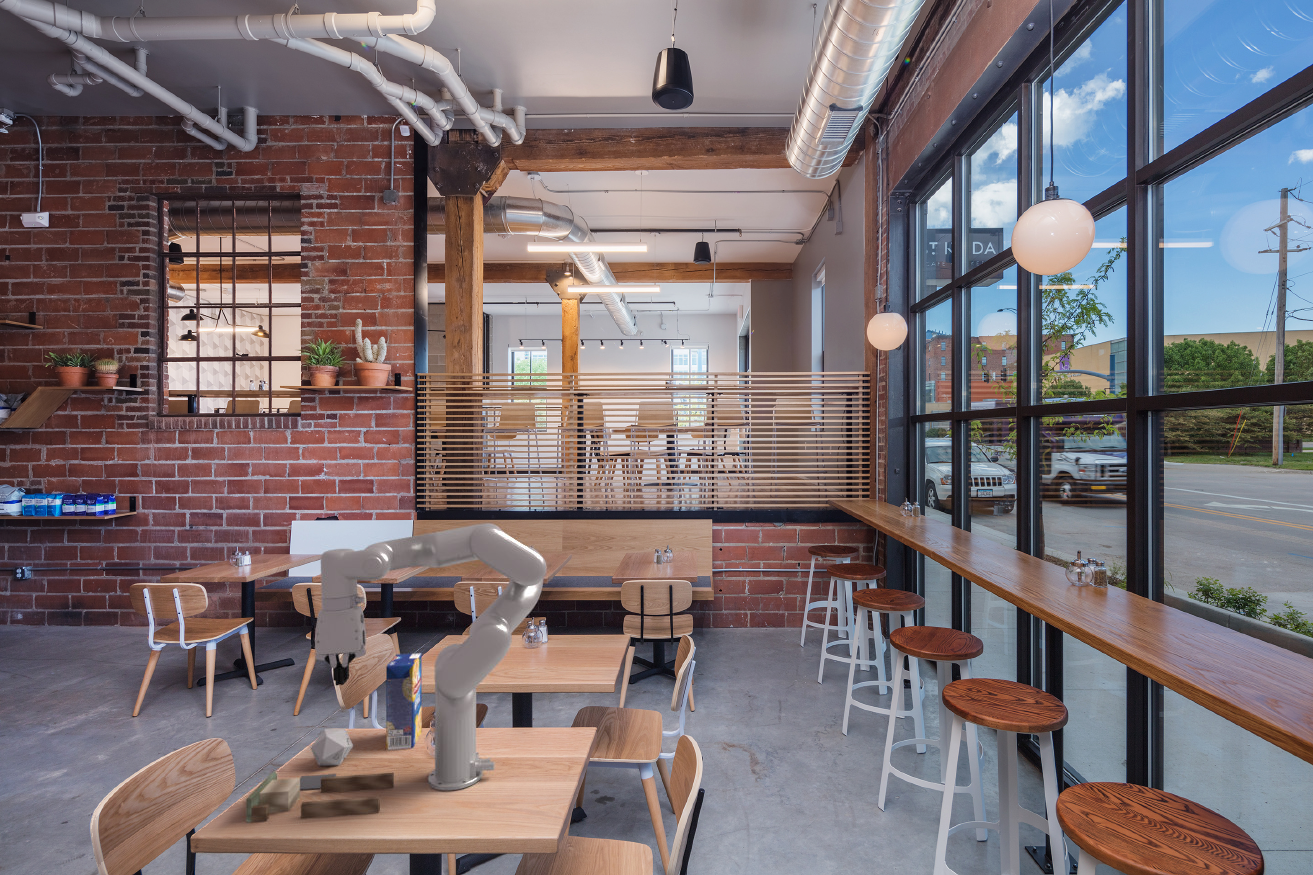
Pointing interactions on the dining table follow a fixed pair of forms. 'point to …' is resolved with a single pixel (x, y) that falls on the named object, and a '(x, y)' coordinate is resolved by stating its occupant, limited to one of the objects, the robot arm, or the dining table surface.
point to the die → (331, 747)
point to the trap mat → (312, 781)
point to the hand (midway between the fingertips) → (341, 682)
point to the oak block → (280, 794)
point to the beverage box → (403, 701)
